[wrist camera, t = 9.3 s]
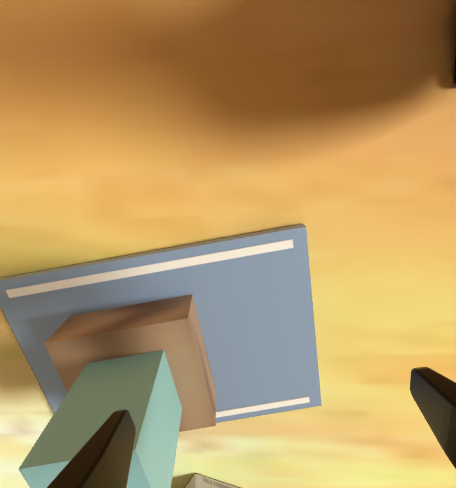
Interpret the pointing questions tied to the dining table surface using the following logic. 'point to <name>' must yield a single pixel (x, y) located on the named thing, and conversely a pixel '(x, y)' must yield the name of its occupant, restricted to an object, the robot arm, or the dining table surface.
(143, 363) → the teal block
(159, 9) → the dining table surface
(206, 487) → the coffee box
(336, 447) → the dining table surface
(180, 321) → the plinth
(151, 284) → the board
